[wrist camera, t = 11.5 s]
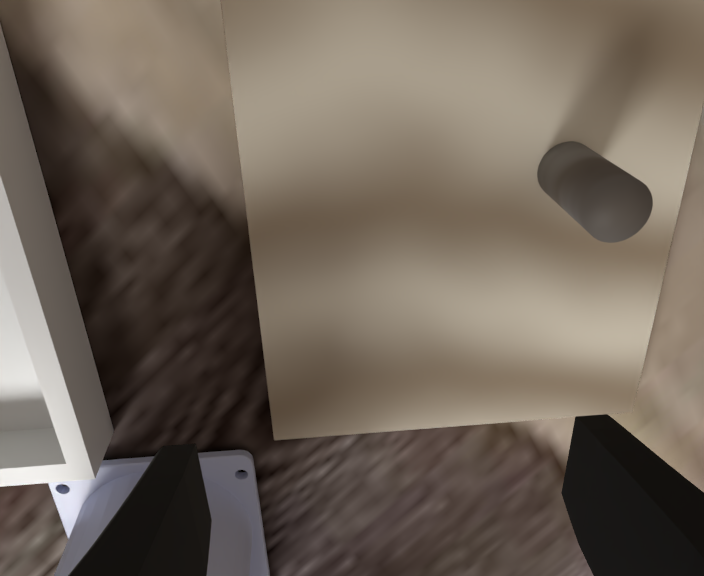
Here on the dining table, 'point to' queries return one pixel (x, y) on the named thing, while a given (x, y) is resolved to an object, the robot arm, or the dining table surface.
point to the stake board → (459, 202)
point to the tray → (40, 325)
